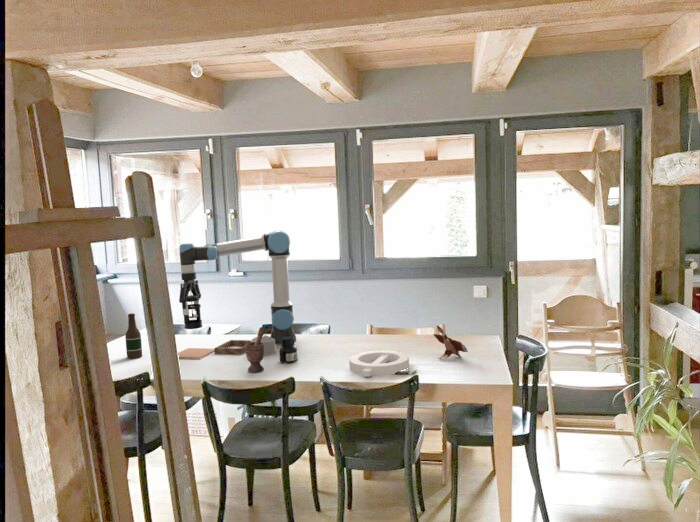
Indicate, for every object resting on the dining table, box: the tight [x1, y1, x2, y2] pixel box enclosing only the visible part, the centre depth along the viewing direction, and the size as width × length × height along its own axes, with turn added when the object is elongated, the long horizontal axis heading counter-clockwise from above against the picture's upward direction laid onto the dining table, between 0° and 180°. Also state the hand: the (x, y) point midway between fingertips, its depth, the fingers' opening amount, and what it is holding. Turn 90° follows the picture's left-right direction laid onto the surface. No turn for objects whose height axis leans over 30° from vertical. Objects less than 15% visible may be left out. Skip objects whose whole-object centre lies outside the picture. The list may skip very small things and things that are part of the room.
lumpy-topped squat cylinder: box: [250, 334, 277, 356], centre depth 304 cm, size 10×13×9 cm
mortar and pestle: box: [245, 326, 266, 374], centre depth 271 cm, size 12×9×20 cm
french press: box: [183, 285, 203, 330], centre depth 306 cm, size 12×9×23 cm
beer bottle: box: [125, 313, 143, 360], centre depth 306 cm, size 8×8×24 cm
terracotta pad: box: [177, 347, 215, 360], centre depth 308 cm, size 18×18×1 cm
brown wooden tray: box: [214, 339, 252, 355], centre depth 314 cm, size 16×19×3 cm
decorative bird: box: [433, 325, 468, 361], centre depth 275 cm, size 28×18×15 cm, turn 22°
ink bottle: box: [278, 336, 298, 364], centre depth 284 cm, size 10×9×12 cm
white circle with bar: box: [348, 349, 410, 378], centre depth 267 cm, size 28×28×5 cm
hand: (191, 312), depth 306 cm, fingers closed on french press, 11 cm apart
